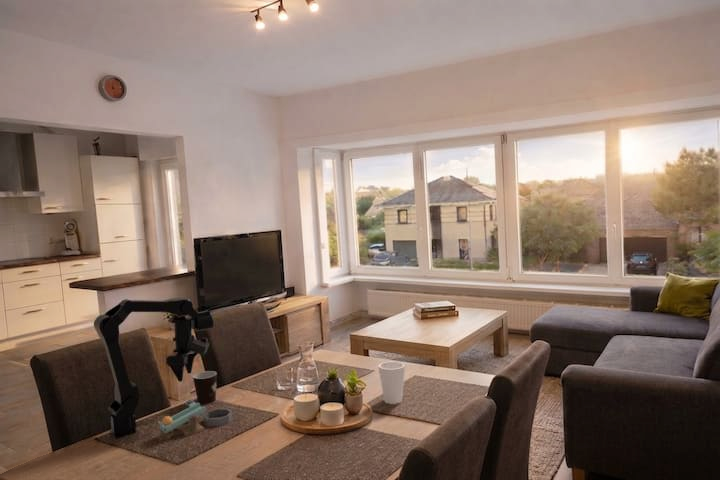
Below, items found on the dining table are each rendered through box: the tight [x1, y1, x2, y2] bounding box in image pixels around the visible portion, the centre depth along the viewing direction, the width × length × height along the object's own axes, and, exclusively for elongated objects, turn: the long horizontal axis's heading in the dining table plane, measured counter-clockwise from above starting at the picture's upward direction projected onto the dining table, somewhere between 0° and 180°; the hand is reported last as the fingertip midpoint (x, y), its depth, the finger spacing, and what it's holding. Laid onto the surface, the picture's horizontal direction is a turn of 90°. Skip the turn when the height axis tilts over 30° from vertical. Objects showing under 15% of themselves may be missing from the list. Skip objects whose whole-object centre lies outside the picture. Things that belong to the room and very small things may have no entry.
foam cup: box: [378, 360, 406, 405], centre depth 190 cm, size 10×9×13 cm
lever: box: [157, 398, 207, 433], centre depth 176 cm, size 14×13×3 cm
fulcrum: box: [157, 416, 205, 441], centre depth 172 cm, size 13×8×5 cm, turn 129°
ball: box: [161, 415, 173, 427], centre depth 170 cm, size 3×3×3 cm
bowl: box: [202, 408, 233, 427], centre depth 180 cm, size 9×9×2 cm
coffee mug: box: [192, 370, 218, 405], centre depth 200 cm, size 12×9×10 cm
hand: (185, 377), depth 188 cm, fingers open, 9 cm apart
